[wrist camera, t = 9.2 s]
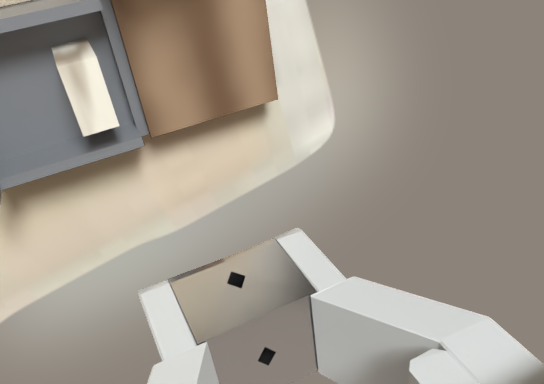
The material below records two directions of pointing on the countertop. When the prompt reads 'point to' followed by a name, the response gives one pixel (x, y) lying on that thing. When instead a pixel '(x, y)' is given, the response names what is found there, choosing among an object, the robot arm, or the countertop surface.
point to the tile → (85, 86)
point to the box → (59, 89)
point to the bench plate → (196, 58)
